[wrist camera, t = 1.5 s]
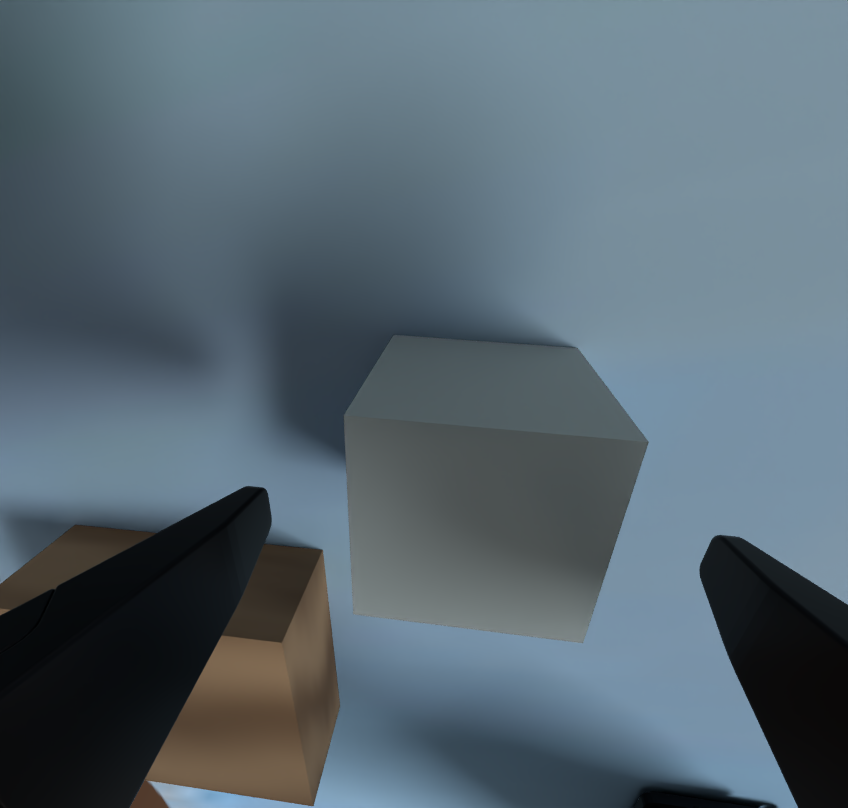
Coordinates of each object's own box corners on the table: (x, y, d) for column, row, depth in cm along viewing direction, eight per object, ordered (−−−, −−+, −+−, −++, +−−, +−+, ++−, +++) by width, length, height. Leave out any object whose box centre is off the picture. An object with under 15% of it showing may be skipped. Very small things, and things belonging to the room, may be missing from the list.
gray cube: (545, 495, 13) (582, 643, 9) (392, 480, 14) (353, 614, 9) (577, 347, 11) (648, 442, 7) (394, 333, 11) (343, 415, 7)
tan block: (341, 698, 20) (313, 806, 16) (148, 672, 21) (81, 769, 17) (326, 542, 16) (282, 642, 12) (82, 518, 16) (-27, 605, 13)
